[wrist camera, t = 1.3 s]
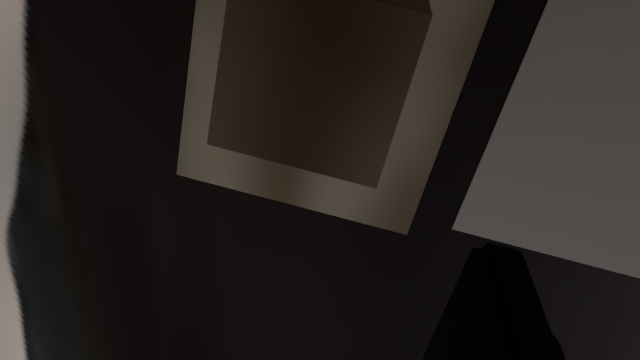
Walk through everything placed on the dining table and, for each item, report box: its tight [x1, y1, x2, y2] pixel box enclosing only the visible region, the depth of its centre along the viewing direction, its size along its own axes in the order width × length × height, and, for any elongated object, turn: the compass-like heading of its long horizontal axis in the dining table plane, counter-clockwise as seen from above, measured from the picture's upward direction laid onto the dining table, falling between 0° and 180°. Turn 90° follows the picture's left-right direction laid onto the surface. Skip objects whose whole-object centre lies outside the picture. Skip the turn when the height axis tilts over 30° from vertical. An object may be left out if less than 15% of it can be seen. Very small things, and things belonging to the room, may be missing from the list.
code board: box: [177, 0, 495, 235], centre depth 24 cm, size 12×18×1 cm, turn 167°
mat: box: [452, 0, 640, 278], centre depth 24 cm, size 10×14×1 cm
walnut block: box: [207, 0, 433, 189], centre depth 21 cm, size 6×6×7 cm
